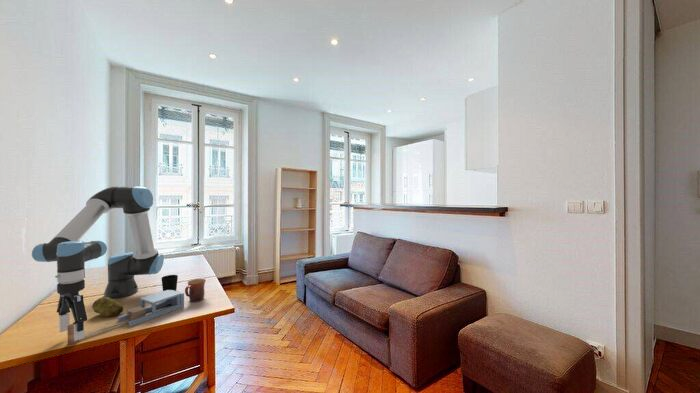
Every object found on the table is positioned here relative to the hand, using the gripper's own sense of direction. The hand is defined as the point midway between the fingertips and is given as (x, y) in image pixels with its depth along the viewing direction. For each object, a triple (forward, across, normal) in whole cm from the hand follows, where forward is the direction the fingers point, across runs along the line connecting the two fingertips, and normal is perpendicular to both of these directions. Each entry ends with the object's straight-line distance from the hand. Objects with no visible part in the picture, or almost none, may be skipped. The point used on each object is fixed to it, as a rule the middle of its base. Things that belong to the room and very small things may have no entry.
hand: (71, 334), depth 105 cm
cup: (+3, -13, +44) cm, 46 cm away
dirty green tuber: (+3, -18, +18) cm, 26 cm away
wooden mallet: (+3, 0, +11) cm, 12 cm away
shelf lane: (+3, 0, +28) cm, 28 cm away
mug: (+3, +3, +48) cm, 48 cm away
